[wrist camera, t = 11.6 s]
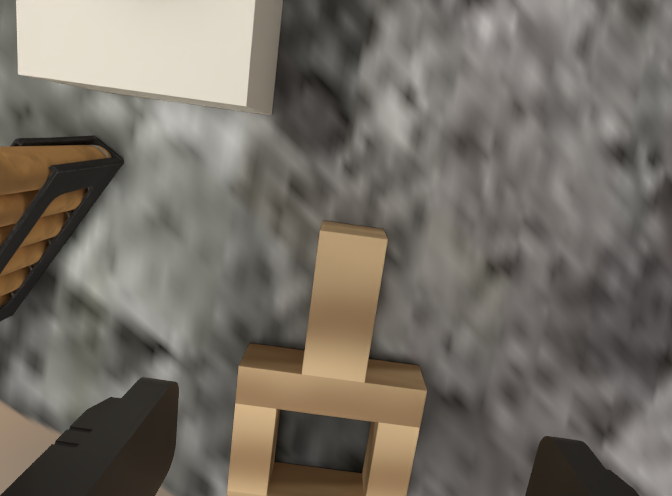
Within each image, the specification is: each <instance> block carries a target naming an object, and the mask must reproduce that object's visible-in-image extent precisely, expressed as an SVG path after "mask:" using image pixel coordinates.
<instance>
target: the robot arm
mask: <svg viewBox="0 0 672 496" xmlns="http://www.w3.org/2000/svg"><path fill="white" fill-rule="evenodd" d="M178 397H179V387H178V384H177V382H173V381H166V380H159V379H152V378H145V377H142V378H140V379H139V380H138V381H137V382H136V383H135V384H134V385H133V386H132V387H131V388H130V390H129V391H128V392H127V393H126V394H125V395H124V396H123V397H122V398H114V397H110V398H108V399H106V400H104V401H102V402H101V403H99V404H97V405H95V406H93V407H91V408H89V409H87V410H86V411H85V412H84V413H83V414H82V415H81V416H80V417H79V418H78V419H77V420H76V421H75V422H74V423H73V424H72V425H71V426H70V429H69V430H66V431H65V432H64V433H63V434H62V435H61V436H60V437H59V438H58V439H57V440H56V442H55V444H54V445H53V444H52V445H51V446H50V447H49V448H48V449H47V450H46V451H45V452H44V453H43V454H42V455H41V456H40V457H39V458H38V459H37V460H36V461H35V462H34V463H33V464H32V465H31V466H30V467H29V468H28V469H26V470H25V472H23V473H22V475H20V476H19V477H18V478H17V479H16V480H15V482H13V483H12V484H11V485H10V486H9V487H8V488H7V489H6V490H5V491H4V492H3V493H2V494H1V495H0V496H155V495H156V493H157V491H158V489H159V488H160V486H161V484H162V482H163V481H164V479H165V477H166V475H167V473H168V471H169V468H170V466H171V463H172V460H173V456H174V451H175V445H176V431H177V414H178ZM525 496H639V495H638V493H637V492H636V491H635V490H634V489H633V488H632V487H631V486H629V485H628V484H627V483H626V482H624V481H623V480H622V479H621V478H619V477H618V476H617V475H616V474H614V473H613V472H612V471H611V470H607V469H605V468H604V466H603V465H602V464H601V462H600V461H599V460H598V459H597V457H596V456H595V455H594V453H593V452H592V451H591V450H590V448H589V447H588V446H587V445H586V444H585V443H584V442H582V441H578V440H571V439H564V438H557V437H550V436H545V437H544V438H542V440H541V441H540V444H539V447H538V450H537V454H536V458H535V461H534V465H533V469H532V473H531V476H530V480H529V484H528V487H527V491H526V495H525Z"/></svg>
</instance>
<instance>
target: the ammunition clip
mask: <svg viewBox="0 0 672 496" xmlns="http://www.w3.org/2000/svg"><path fill="white" fill-rule="evenodd" d="M122 165H123V159H122V158H121V157H119V156H118V155H117V154H116V153H115V152H113V151H112V150H111V149H110V148H108V147H107V146H106V145H105V144H103V143H102V142H101V141H100V140H98V139H97V138H96V137H95V136H78V137H56V138H17V139H15V140H14V142H13V143H12V145H11V146H10V147H0V321H2V320H4V319H6V318H8V317H10V316H12V315H13V314H14V312H15V311H16V309H17V308H18V307H19V305H20V304H21V303H22V301H23V300H24V299H25V297H26V296H27V294H28V293H29V292H30V290H31V289H32V288H33V286H34V285H35V284H36V282H37V281H38V279H39V278H40V277H41V275H42V274H43V273H44V271H45V270H46V268H47V267H48V266H49V264H50V263H51V262H52V260H53V259H54V258H55V256H56V255H57V253H58V252H59V251H60V249H61V248H62V247H63V245H64V244H65V243H66V241H67V240H68V238H69V237H70V236H71V234H72V233H73V232H74V230H75V229H76V227H77V226H78V225H79V223H80V222H81V221H82V219H83V218H84V217H85V215H86V214H87V212H88V211H89V210H90V208H91V207H92V206H93V204H94V203H95V202H96V200H97V199H98V197H99V196H100V195H101V193H102V192H103V191H104V189H105V188H106V186H107V185H108V184H109V182H110V181H111V180H112V178H113V177H114V176H115V174H116V173H117V171H118V170H119V169H120V167H121V166H122Z"/></svg>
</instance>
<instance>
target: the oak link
mask: <svg viewBox="0 0 672 496" xmlns="http://www.w3.org/2000/svg"><path fill="white" fill-rule="evenodd" d="M387 241H388V239H387V237H386V234H385V232H384V229H380V228H373V227H365V226H358V225H350V224H343V223H336V222H328V221H323V222H322V225H321V229H320V234H319V242H318V250H317V258H316V266H315V273H314V281H313V289H312V297H311V305H310V313H309V321H308V329H307V336H306V344H305V350H298V349H290V348H283V347H275V346H268V345H260V344H253V343H250V344H249V346H248V348H247V350H246V352H245V354H244V356H243V358H242V360H241V363H240V365H239V369H238V380H237V391H236V402H235V413H234V424H233V435H232V446H231V457H230V468H229V479H228V490H227V496H406V494H407V489H408V484H409V479H410V474H411V469H412V464H413V459H414V454H415V449H416V444H417V439H418V434H419V429H420V424H421V419H422V414H423V409H424V404H425V399H426V394H427V389H426V386H425V383H424V380H423V377H422V374H421V371H420V367H419V366H418V365H410V364H403V363H395V362H388V361H380V360H373V359H368V358H369V352H370V346H371V339H372V333H373V327H374V321H375V315H376V309H377V303H378V296H379V290H380V284H381V278H382V272H383V266H384V260H385V253H386V247H387ZM280 409H281V410H289V411H296V412H304V413H311V414H319V415H327V416H334V417H342V418H349V419H357V420H364V421H371V425H370V431H369V437H368V442H367V448H366V454H365V460H364V466H363V472H362V473H355V472H348V471H340V470H333V469H325V468H317V467H310V466H302V465H295V464H287V463H279V462H274V459H275V451H276V442H277V434H278V425H279V416H280Z"/></svg>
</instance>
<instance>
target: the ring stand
mask: <svg viewBox="0 0 672 496" xmlns="http://www.w3.org/2000/svg"><path fill="white" fill-rule="evenodd" d="M282 6H283V0H16V8H17V48H18V74H19V75H23V76H28V77H33V78H38V79H43V80H48V81H53V82H57V83H62V84H67V85H72V86H77V87H82V88H87V89H91V90H96V91H101V92H108V93H115V94H122V95H129V96H137V97H144V98H151V99H158V100H165V101H172V102H180V103H187V104H194V105H201V106H208V107H215V108H222V109H230V110H237V111H244V112H251V113H258V114H265V115H272V107H273V97H274V87H275V77H276V67H277V57H278V47H279V37H280V27H281V16H282Z"/></svg>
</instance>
